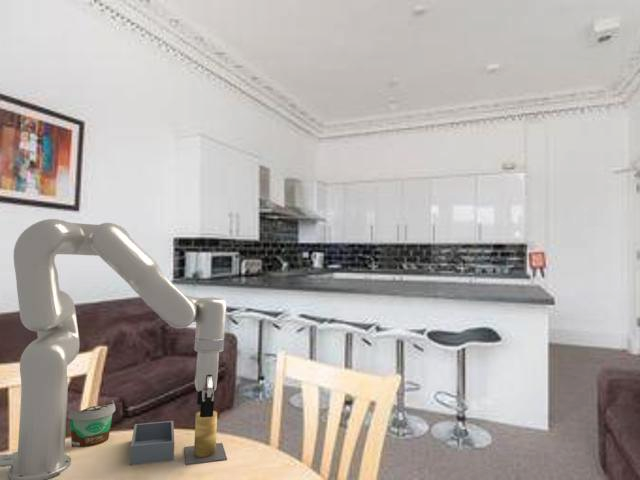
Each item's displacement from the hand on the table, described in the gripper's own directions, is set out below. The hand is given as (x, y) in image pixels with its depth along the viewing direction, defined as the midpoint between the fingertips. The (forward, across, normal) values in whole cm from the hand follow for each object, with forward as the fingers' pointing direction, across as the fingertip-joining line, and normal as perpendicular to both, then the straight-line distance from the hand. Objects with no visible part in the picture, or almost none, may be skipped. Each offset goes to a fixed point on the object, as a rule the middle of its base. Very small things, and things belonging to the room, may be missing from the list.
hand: (204, 410), depth 113 cm
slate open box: (+12, -6, -12) cm, 18 cm away
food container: (+13, -15, -27) cm, 33 cm away
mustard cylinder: (+11, 0, +1) cm, 11 cm away
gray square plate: (+12, 0, +1) cm, 12 cm away
